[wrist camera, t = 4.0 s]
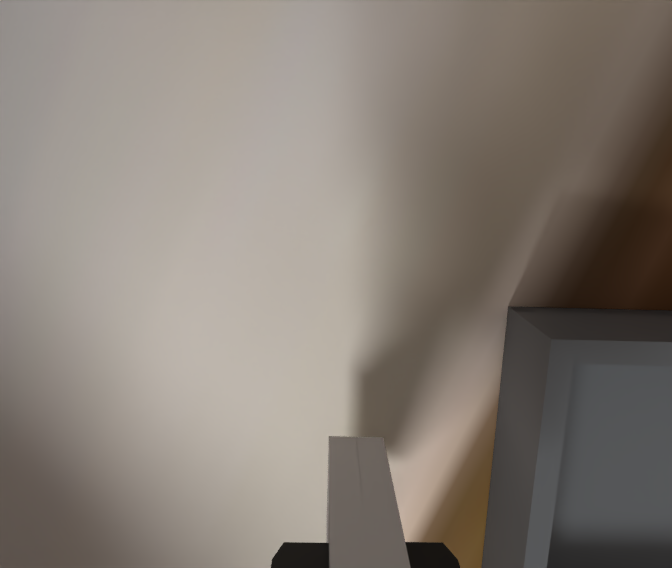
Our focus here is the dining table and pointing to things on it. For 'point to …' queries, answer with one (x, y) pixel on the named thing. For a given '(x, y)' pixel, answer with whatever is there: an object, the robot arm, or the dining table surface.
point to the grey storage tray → (583, 441)
